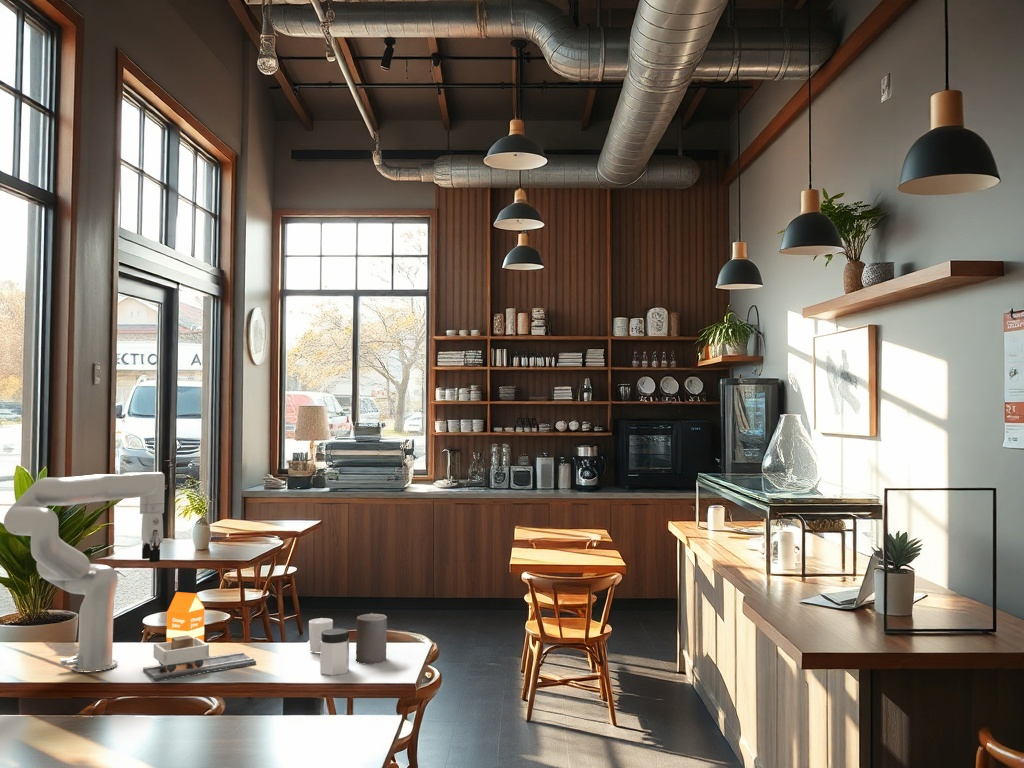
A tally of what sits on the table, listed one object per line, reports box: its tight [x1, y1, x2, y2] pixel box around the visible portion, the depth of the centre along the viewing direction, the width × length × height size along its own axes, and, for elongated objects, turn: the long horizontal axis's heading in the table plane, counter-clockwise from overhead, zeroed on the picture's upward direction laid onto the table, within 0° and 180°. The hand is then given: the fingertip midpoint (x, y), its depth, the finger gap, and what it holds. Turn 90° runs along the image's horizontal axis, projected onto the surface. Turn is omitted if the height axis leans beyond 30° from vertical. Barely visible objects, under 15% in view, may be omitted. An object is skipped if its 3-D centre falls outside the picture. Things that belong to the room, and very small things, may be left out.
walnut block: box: [171, 635, 193, 650], centre depth 254 cm, size 5×5×5 cm
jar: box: [319, 628, 350, 677], centre depth 252 cm, size 9×8×12 cm
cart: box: [153, 638, 210, 672], centre depth 253 cm, size 13×12×6 cm
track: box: [142, 651, 257, 682], centre depth 257 cm, size 30×14×1 cm, turn 127°
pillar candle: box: [355, 612, 388, 665], centre depth 265 cm, size 10×10×15 cm
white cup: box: [308, 617, 334, 653], centre depth 276 cm, size 8×8×10 cm
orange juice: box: [166, 591, 205, 642], centre depth 274 cm, size 8×9×20 cm
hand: (150, 560), depth 278 cm, fingers open, 9 cm apart
